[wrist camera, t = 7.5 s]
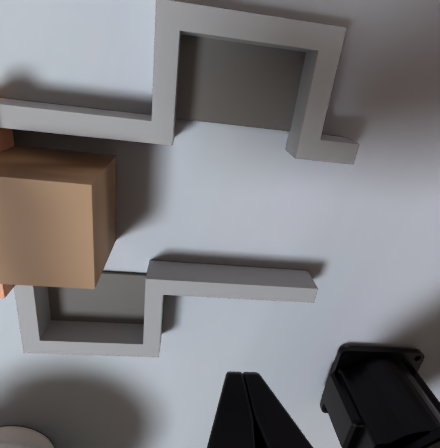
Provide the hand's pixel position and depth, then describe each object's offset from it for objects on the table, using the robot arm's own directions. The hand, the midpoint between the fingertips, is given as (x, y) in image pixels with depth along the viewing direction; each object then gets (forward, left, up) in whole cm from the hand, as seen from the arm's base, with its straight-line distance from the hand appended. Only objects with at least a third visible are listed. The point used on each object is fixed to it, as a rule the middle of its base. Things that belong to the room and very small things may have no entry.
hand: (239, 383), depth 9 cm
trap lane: (+2, 0, -12) cm, 12 cm away
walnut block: (+8, 0, -12) cm, 14 cm away
